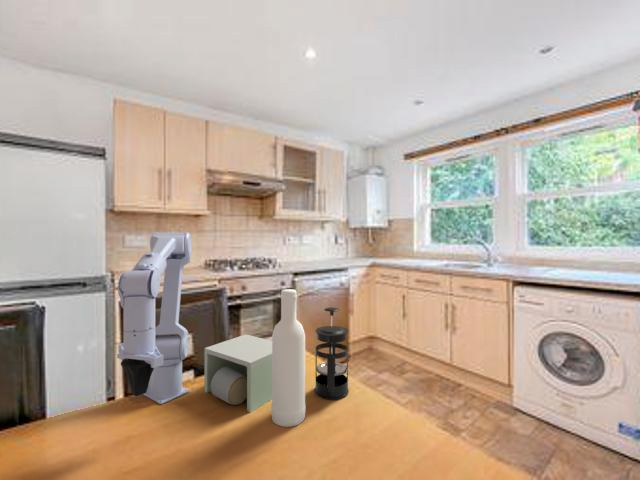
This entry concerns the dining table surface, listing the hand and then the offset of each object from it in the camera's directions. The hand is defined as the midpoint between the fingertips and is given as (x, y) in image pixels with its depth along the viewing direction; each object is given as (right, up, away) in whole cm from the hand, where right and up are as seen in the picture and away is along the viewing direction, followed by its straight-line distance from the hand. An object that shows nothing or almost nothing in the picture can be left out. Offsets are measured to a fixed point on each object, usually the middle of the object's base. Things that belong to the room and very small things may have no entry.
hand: (139, 393), depth 64 cm
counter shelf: (+17, -10, +22) cm, 30 cm away
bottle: (+30, -10, +9) cm, 33 cm away
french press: (+41, -10, +21) cm, 47 cm away
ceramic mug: (+15, -10, +18) cm, 25 cm away
